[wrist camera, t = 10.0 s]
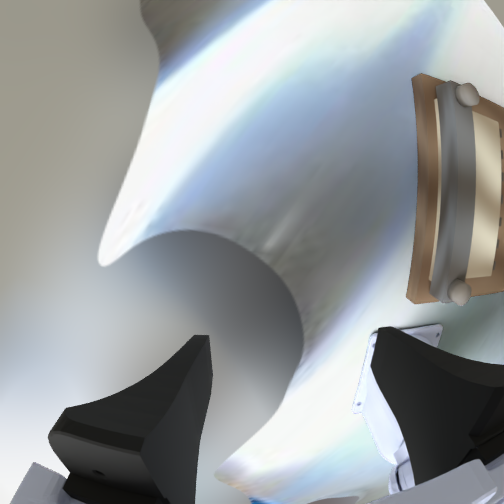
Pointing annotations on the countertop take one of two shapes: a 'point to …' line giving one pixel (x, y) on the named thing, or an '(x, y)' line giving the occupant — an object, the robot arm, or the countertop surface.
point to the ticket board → (430, 195)
